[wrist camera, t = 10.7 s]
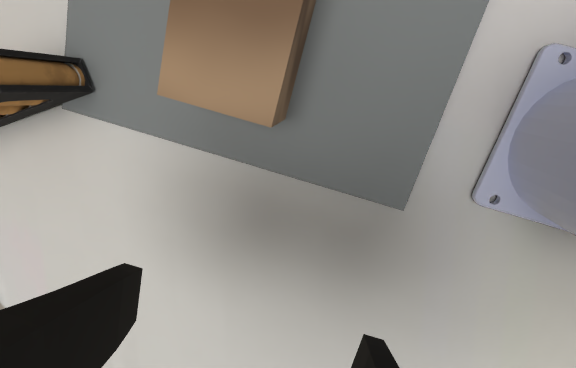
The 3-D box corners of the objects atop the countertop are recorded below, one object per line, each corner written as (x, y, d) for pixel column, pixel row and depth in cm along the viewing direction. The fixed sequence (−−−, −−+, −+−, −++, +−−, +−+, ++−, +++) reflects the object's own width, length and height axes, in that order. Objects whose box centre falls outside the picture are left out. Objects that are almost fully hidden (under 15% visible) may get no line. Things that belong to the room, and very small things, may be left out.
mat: (532, -116, 14) (538, -122, 13) (401, 208, 18) (403, 210, 18) (88, -224, 15) (81, -232, 14) (67, 108, 19) (62, 108, 19)
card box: (284, 119, 17) (271, 127, 14) (195, 93, 18) (156, 94, 14) (336, -79, 15) (337, -139, 11) (229, -107, 15) (194, -173, 11)
